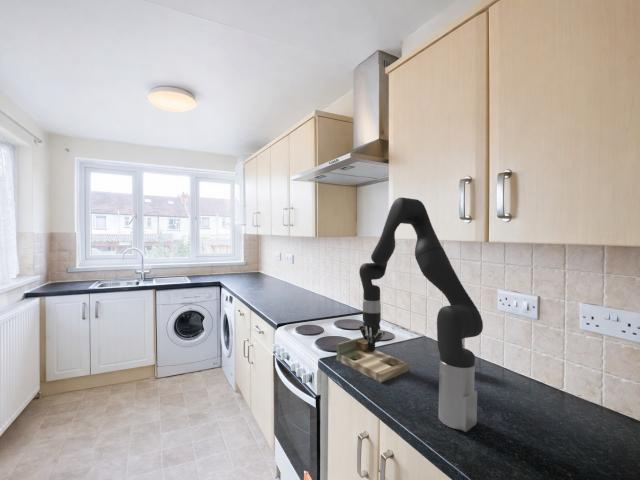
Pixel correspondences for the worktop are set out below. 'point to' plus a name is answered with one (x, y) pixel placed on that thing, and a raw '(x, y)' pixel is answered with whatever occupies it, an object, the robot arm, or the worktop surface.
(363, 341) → the walnut block
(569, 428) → the worktop surface
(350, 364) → the tray
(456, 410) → the robot arm
